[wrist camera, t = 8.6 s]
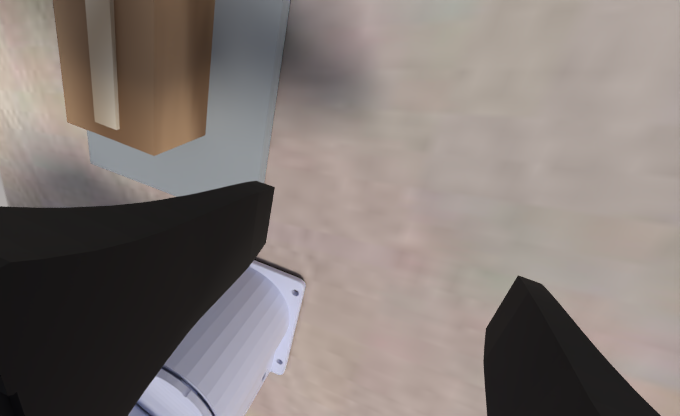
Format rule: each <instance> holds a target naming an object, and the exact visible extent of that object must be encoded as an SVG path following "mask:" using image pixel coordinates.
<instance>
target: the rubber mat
mask: <svg viewBox="0 0 680 416" xmlns="http://www.w3.org/2000/svg"><path fill="white" fill-rule="evenodd" d="M289 7H290V0H215V10H214V24H213V38H212V52H211V65H210V79H209V93H208V107H207V120H206V134H205V136H202V137H200V138H197V139H195V140H192V141H190V142H187V143H185V144H183V145H180V146H178V147H175V148H173V149H170V150H168V151H165V152H163V153H160V154H158V155H156V156H153V155H150V154H148V153H145V152H142V151H140V150H137V149H135V148H132V147H130V146H127V145H125V144H122V143H119V142H117V141H114V140H112V139H109V138H107V137H104V136H102V135H99V134H96V133H94V132H91V131H89V130H87V135H88V144H89V153H90V162H91V164H93V165H96V166H98V167H101V168H104V169H106V170H109V171H111V172H114V173H117V174H119V175H122V176H125V177H127V178H130V179H132V180H135V181H138V182H140V183H143V184H145V185H148V186H151V187H153V188H156V189H158V190H161V191H164V192H166V193H169V194H171V195H174V196H177V197H179V196H185V195H190V194H195V193H200V192H204V191H209V190H213V189H217V188H222V187H226V186H230V185H235V184H239V183H244V182H250V181H259V182H261V183H264V181H265V174H266V167H267V160H268V153H269V146H270V140H271V133H272V126H273V119H274V112H275V105H276V98H277V91H278V84H279V77H280V70H281V63H282V56H283V49H284V42H285V35H286V28H287V21H288V14H289Z"/></svg>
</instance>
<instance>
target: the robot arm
mask: <svg viewBox="0 0 680 416" xmlns="http://www.w3.org/2000/svg"><path fill="white" fill-rule="evenodd" d="M274 188H275V187H272V186H270V185H267V184H264V183H261V182H259V181H250V182H244V183H239V184H235V185H230V186H226V187H222V188H217V189H213V190H209V191H204V192H200V193H195V194H190V195H185V196H179V197H174V198H169V199H163V200H157V201H151V202H143V203H134V204H125V205H114V206H96V207H74V208H27V207H0V416H245V414H246V412H247V411H248V409H249V407H250V405H251V404H252V402H253V400H254V398H255V397H256V395H257V393H258V391H259V390H260V388H261V386H262V384H263V383H264V381H265V379H266V377H267V376H268V374H269V372H270V371H271V372H273V373H275V374H278V375H282V374H283V373H284V371H285V370H286V366H287V361H288V357H289V353H290V349H291V345H292V341H293V337H294V333H295V328H296V324H297V320H298V316H299V312H300V308H301V304H302V300H303V295H304V291H305V287H306V284H305V282H304V281H303V280H302V279H300V278H298V277H295V276H293V275H290V274H288V273H285V272H283V271H280V270H278V269H275V268H273V267H270V266H268V265H265V264H263V263H260V262H258V261H255V260H254V259H255V258H256V256H257V255H258V253H259V252H260V251H261V249H262V248H263V246H264V245H265V243H266V238H267V232H268V226H269V219H270V213H271V207H272V201H273V194H274ZM295 290H297V291H298V292H296V291H295ZM484 377H485V392H486V405H487V416H661V415H660V414H658V413H657V412H656V411H655V410H654V409H653V408H652V407H651V406H650V405H649V404H648V403H647V402H646V401H645V400H644V399H643V398H642V397H641V396H640V395H639V394H638V393H637V392H636V391H635V390H634V389H633V388H632V387H631V386H630V385H629V383H628V382H627V381H626V380H625V379H624V378H623V377H622V376H621V375H620V374H619V373H618V372H617V370H616V369H615V368H614V367H613V366H612V365H611V364H610V363H609V362H608V361H607V359H606V358H605V357H604V356H603V355H602V354H601V353H600V352H599V350H598V349H597V348H596V347H595V346H594V345H593V343H592V342H591V341H590V340H589V339H588V338H587V336H586V335H585V334H584V333H583V332H582V330H581V329H580V328H579V327H578V326H577V324H576V323H575V322H574V321H573V320H572V318H571V317H570V316H569V315H568V313H567V312H566V311H565V310H564V309H563V307H562V306H561V305H560V304H559V303H558V301H557V300H556V299H555V298H554V297H553V296H552V294H551V293H550V292H549V291H548V290H547V289H546V288H545V287H544V286H543V285H542V284H540V283H537V282H535V281H532V280H529V279H526V278H524V277H521V276H518V277H517V278H516V280H515V281H514V283H513V285H512V286H511V288H510V290H509V291H508V293H507V295H506V296H505V298H504V300H503V301H502V303H501V305H500V306H499V308H498V310H497V311H496V313H495V315H494V316H493V318H492V320H491V321H490V323H489V325H488V326H487V328H486V335H485V346H484Z"/></svg>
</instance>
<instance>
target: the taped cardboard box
mask: <svg viewBox="0 0 680 416" xmlns="http://www.w3.org/2000/svg"><path fill="white" fill-rule="evenodd" d="M53 6H54V14H55V22H56V31H57V39H58V47H59V56H60V64H61V73H62V81H63V89H64V98H65V106H66V114H67V122H68V123H71V124H73V125H76V126H79V127H81V128H84V129H86V130H89V131H91V132H94V133H96V134H99V135H102V136H104V137H107V138H109V139H112V140H114V141H117V142H119V143H122V144H125V145H127V146H130V147H132V148H135V149H137V150H140V151H142V152H145V153H148V154H150V155H153V156H156V155H158V154H160V153H163V152H165V151H168V150H170V149H173V148H175V147H178V146H180V145H183V144H185V143H187V142H190V141H192V140H195V139H197V138H200V137H202V136H205V134H206V120H207V107H208V93H209V79H210V65H211V52H212V38H213V24H214V10H215V0H53Z"/></svg>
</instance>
